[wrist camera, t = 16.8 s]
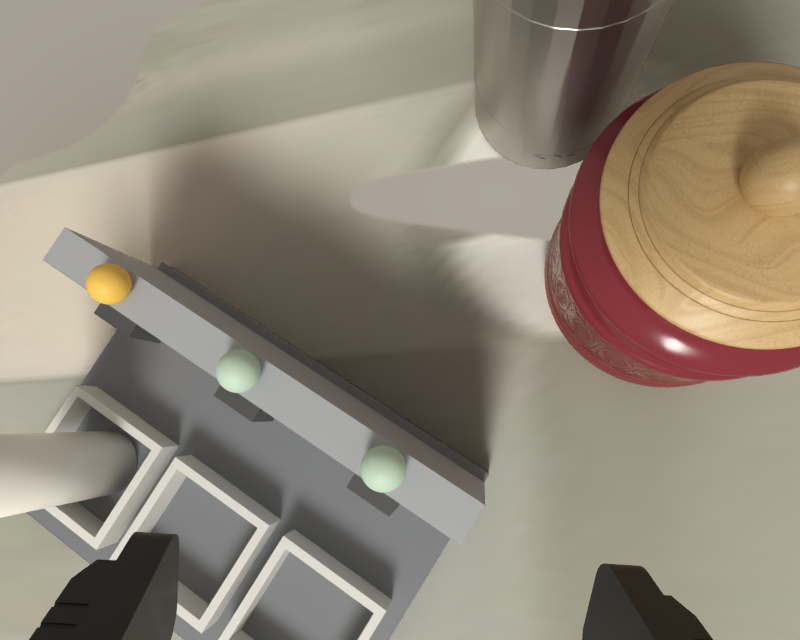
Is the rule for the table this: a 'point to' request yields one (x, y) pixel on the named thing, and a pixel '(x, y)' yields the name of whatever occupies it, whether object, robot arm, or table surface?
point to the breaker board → (253, 466)
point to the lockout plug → (62, 468)
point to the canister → (687, 233)
